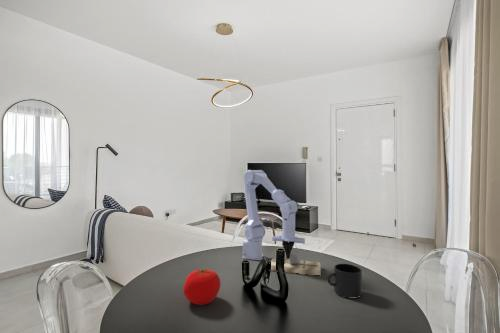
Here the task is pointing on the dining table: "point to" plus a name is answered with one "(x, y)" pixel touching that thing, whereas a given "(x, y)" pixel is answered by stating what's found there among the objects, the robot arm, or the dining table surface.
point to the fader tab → (294, 258)
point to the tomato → (201, 286)
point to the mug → (347, 280)
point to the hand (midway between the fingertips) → (288, 258)
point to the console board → (299, 267)
